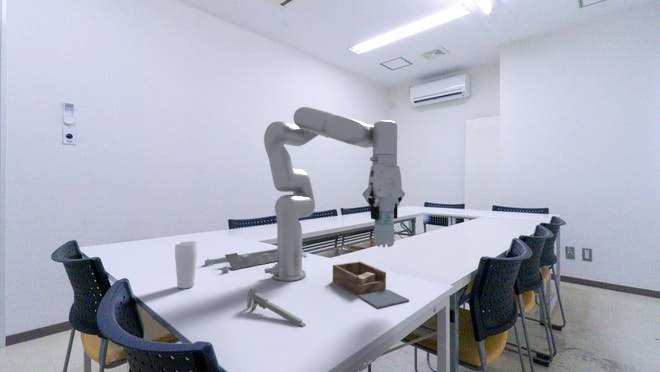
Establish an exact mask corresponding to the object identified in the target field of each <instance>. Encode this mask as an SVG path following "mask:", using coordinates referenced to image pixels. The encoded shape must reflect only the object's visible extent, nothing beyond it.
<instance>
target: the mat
mask: <svg viewBox="0 0 660 372" xmlns="http://www.w3.org/2000/svg"><path fill="white" fill-rule="evenodd" d="M357 297H358V298H360V299H361V300H363V301H364V302H366V303H368V304H369V305H371V306H372V307H374V308H376V309H377V310H378V309H381V308H382V309H383V308H386V307H391V306H394V305H398V304H399V305H400V304H403V303H409V302H410V299H408V298H406V297H404V296H402V295H400V294H398V293H396V292H394V291H392V290H390V289H386V290H382V291H377V292H372V293H367V294H362V295H357Z"/></svg>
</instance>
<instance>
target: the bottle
mask: <svg viewBox="0 0 660 372" xmlns="http://www.w3.org/2000/svg"><path fill="white" fill-rule="evenodd" d="M375 196H376V195H375ZM377 206H378V207H379V219H378V220H375V219H374V228H373V229H374V232H373V241H374V242H373V243H374V244H375V246H377V247H378V248H379V247H381V246H382V248H385V247H386V246H387V247H388V248H391V247H393V246H394V244H395V219H394V208H395V198H394V196H393V193H388V195H387V197H385V198H380V199H379V202H378V205H377Z"/></svg>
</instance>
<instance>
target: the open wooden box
mask: <svg viewBox="0 0 660 372" xmlns="http://www.w3.org/2000/svg"><path fill="white" fill-rule="evenodd" d="M366 272H369V273H373V274H375V281H376V282H371V283H365V284H360V285H359V276H358V275H361V274H364V273H366ZM332 282H333V283H334V284H336V285H338V286H339V287H341V288H343V289H344V290H346V291H348V292H350V293H352V294H353V295H355V296H356V297H358V295H363V294H368V293H373V292H376V291H377V292H378V291H381V290H382V291H383V290H387V288H386V287H387V272H386V271H385V270H382V269H379V268H378V267H377V268H376V267H374V266H373V265H370V264H367V263H365V262H363V261H360V260H359V261H355V262H354V261H352V262H345V263H340V264H333V265H332Z"/></svg>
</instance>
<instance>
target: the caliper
mask: <svg viewBox="0 0 660 372" xmlns="http://www.w3.org/2000/svg"><path fill="white" fill-rule="evenodd" d="M246 296H247V297H246V299H247V300H246V307H247V309H250V308H251V310H252V311H254V310H256V308H257V307H258V306H259V307H260V308H262V309H263V310H265V309H268V310H269V311H272V312H273V313H275V314H277V315H278V316H280V317H281V318H283V319H285V320H287V321H288V322H290V323H292V324H294V325H296V326H300V327H302V328H304V327H305V326H306V324H307V323H305V322H303V319H301V318H300V317H298V316H296V315H294V314H293V313H290V311H287V310H285V309H284V308H282V307H280V306H279V305H277V304H274V303H273V302H271V301H270V300H269V299H268V298H266V297H265V296H264V295H261V294H259V293H258V292H257V289H256V288H255V287H250V290H248V293H247V295H246Z"/></svg>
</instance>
